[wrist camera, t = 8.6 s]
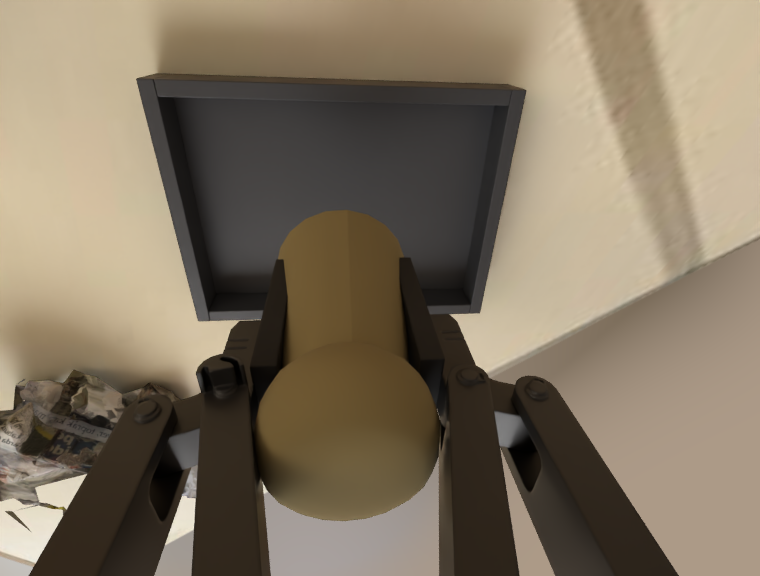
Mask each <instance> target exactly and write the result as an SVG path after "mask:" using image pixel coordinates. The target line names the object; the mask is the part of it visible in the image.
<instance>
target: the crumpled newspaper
mask: <svg viewBox="0 0 760 576" xmlns="http://www.w3.org/2000/svg"><path fill="white" fill-rule="evenodd" d="M24 380H25V379H23V380H22V381H24ZM22 381H21V382H22ZM19 383H20V382H19ZM19 383H18V384H19ZM154 394H160V395H165V396H167V397H169V398H170V399H171V401H172V403H173V402H176V401H180V399H178V398H177V397H176V396H175V395H173V392H171V391H169V390H167V389H164V388H162V387H159V386H156V385H154V384H151V383H148V384H147V385H146V386H145V387H143V388H140V389H137V390H134V391H131V392H128V393H125V394H121V393H119V392H118V391H117V390H115V389H114V388H112V387H111V386H109V385H108V384H106V383H105V382H104V381H102V380H101V379H99V378H98V377H95V376H90V375H86V374H83V373H81V372H78V371H76V370H73V371H72V373H71V374H70V376H69V377H68V378H67V380H66V381H65V382H64V383H59V382H54V381H49V380H43V381H28V382H27V384H26V386H25V387H22V386H17V385H16V387H15V397H14V409H13V410H6V411H0V501H4V500H7V499H12V498H14V499H16V500H18V501H20V502H21V503H22V504H24V505H35V506H38V505H39V506H43V507H47V508H52V509H62V510H63V515H64V514H65V512H66V509H65V508H64V507H59V508H58V507H56V506H53V505H50V504H47V503H39V500H38V497H37V493H36V490H35V487H37V486H41V485H45V484H49V483H53V482H57V481H61V480H64V479H68V478H72V477H76V476H80V475H84V474H88V472H89V470H90V469H91V467H92V465H93V463H94V462H95V460H96V458H97V457H98V455H99V453H100V451H101V450H102V448H103V446H104V444H105V443H106V441H107V439H108V437H109V436H110V434H111V432H112V431H113V429H114V427H115V425H116V424H117V422H118V420H119V418H120V417H121V415H122V413H123V412H124V411H125V409H126V408H127V407H128V406H129V405H130V404H132V403H133V402H135V401H136V400H138V399H140V398H142V397H145V396H148V395H154ZM23 400H25V401H23ZM197 469H198V465H196V466H193V467H192V468H191V471H190V474H189V476H188V479H187V482H186V485H185V488H184V491H183V494H182V496H187V498H196V487H197ZM31 507H34V506H31ZM28 508H30V507H28ZM24 509H25V508H24ZM20 510H21V509H20ZM5 512H6V513H8V514H9V515H10V516H12V517H13V518H14V519H15V520H17V521H18V522H19V523H21V524H22V525H23V526H24V527H26V528H27V526H26V525H25V524H24V523H23V522H22V521H21V520H20V519H19V518H18V517H17V516H16V515H15V514H14V513H13V512H12V511H5ZM27 529H28V528H27ZM28 530H29V529H28Z"/></svg>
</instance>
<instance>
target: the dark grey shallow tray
mask: <svg viewBox="0 0 760 576" xmlns="http://www.w3.org/2000/svg"><path fill="white" fill-rule="evenodd" d="M136 80H137V84H138V88H139V92H140V96H141V100H142V104H143V108H144V111H145V115H146V119H147V123H148V127H149V131H150V135H151V139H152V143H153V147H154V151H155V154H156V158H157V162H158V166H159V170H160V174H161V178H162V182H163V186H164V190H165V193H166V197H167V201H168V205H169V209H170V213H171V217H172V221H173V225H174V229H175V232H176V236H177V240H178V244H179V248H180V252H181V256H182V260H183V264H184V268H185V272H186V275H187V279H188V283H189V287H190V291H191V295H192V299H193V303H194V307H195V311H196V314H197V318H198V321H210V320H211V321H220V320H255V319H261V318H262V314H263V310H264V306H265V302H266V298H267V294H268V290H269V286H270V282H271V278H272V274H273V270H274V266H275V261H276V259H278V256H279V251H280V247H281V246H282V244H283V242H284V241H285V239H286V237H287V236H288V234H289V232H290V231H291V230H293V229H294V228H295V227H296V226H297V225H299V224H300V223H301V222H302V221H304V220H305V219H307V218H309V217H312V216H314V215H317V214H320V213H322V212H325V211H337V210H350V211H354V212H358V213H363V214H367V215H369V216H371V217H373V218H374V219H376V220H378V221H379V222H381V223H383V224H384V225H386V226H387V228H388V229H389V230H390V231H391V232H392V233H393V235H394V236H395V237H396V238H397V239H398V242H399V244H400V247H401V250H402V252H403V255H404V257H410V258H411V261H412V264H413V266H414V269H415V272H416V275H417V278H418V281H419V284H420V287H421V290H422V293H423V296H424V298H425V301H426V304H427V307H428V310H429V313H430V314H468V313H470V314H471V313H480V310H481V305H482V301H483V296H484V291H485V286H486V281H487V277H488V272H489V267H490V262H491V257H492V253H493V248H494V243H495V238H496V233H497V229H498V224H499V219H500V214H501V209H502V205H503V200H504V195H505V190H506V185H507V181H508V176H509V171H510V166H511V161H512V157H513V152H514V147H515V142H516V138H517V133H518V128H519V123H520V118H521V114H522V109H523V104H524V99H525V94H526V90H524V89H521V88H518V87H515V86H511V85H508V84H481V83H449V82H416V81H384V80H352V79H320V78H287V77H255V76H223V75H191V74H158V73H157V74H153V75H149V76H145V77H140V78H137V79H136Z"/></svg>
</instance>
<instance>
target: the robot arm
mask: <svg viewBox="0 0 760 576" xmlns="http://www.w3.org/2000/svg"><path fill="white" fill-rule="evenodd" d="M399 281H400V287H401V294H402V301H403V308H404V315H405V322H406V329H407V336H408V355H409V364H410V365H411V366H412V367H413V368H414V369H415V370H416V371H417V372H418V373H419V374H420V375H421V377H422V378H423V380H424V381H425V383H426V384H427V386H428V388H429V391H430V393H431V395H432V398H433V400H434V402H435V405H436V408H437V409H438V413H439V416H440V445H439V576H519V569H518V562H517V556H516V549H515V544H514V537H513V530H512V524H511V517H510V511H509V504H508V497H507V491H506V484H505V477H504V471H503V465H502V458H501V451H500V448H501V450H502V452H503V454H504V457H505V459H506V462H507V464H508V466H509V469H510V471H511V473H512V476H513V478H514V480H515V483H516V485H517V487H518V490H519V492H520V494H521V497H522V499H523V501H524V503H525V506H526V508H527V511H528V513H529V515H530V518H531V520H532V522H533V525H534V526H535V529H536V532H537V534H538V536H539V538H540V541H541V543H542V546H543V548H544V550H545V553H546V555H547V557H548V560H549V562H550V564H551V567H552V569H553V571H554V574H555V576H679V575H678V574H677V572H676V571H675V569H674V568H673V566H672V565H671V563H670V562H669V560H668V559H667V557H666V556H665V554H664V552H663V551H662V549H661V548H660V546H659V545H658V543H657V542H656V540H655V539H654V537H653V536H652V534H651V533H650V531H649V530H648V528H647V526H646V525H645V523H644V522H643V520H642V519H641V517H640V516H639V514H638V513H637V511H636V510H635V508H634V507H633V505H632V504H631V502H630V501H629V499H628V497H627V496H626V494H625V493H624V492H623V490H622V488H621V487H620V485H619V484H618V482H617V481H616V479H615V478H614V476H613V475H612V473H611V472H610V470H609V468H608V467H607V465H606V464H605V462H604V461H603V459H602V458H601V456H600V455H599V453H598V452H597V450H596V449H595V447H594V446H593V444H592V443H591V441H590V439H589V438H588V436H587V435H586V433H585V432H584V430H583V429H582V427H581V426H580V424H579V423H578V421H577V419H576V418H575V417H574V415H573V413H572V412H571V410H570V409H569V407H568V406H567V404H566V403H565V401H564V400H563V398H562V397H561V395H560V393H559V392H558V391H557V389H556V388H555V387H554V386H553V385H552V384H551V383H550V382H548V381H546V380H545V379H543V378H540V377H536V376H525V377H521V378H520V379H518V380H517V381H516V384H515V385H513V384H508V383H503V382H498V381H495V380H492V379H490V378H489V377H488V375H487V373H486V372H485V371H484V370H483V369H481V368H479V367H477V366H476V365H475V362H474V360H473V358H472V355H471V353H470V351H469V348H468V346H467V344H466V341H465V340H464V337H463V334H462V332H461V330H460V327H459V325H458V323H457V321H456V320H455V319H454V318H453V317H451V316H450V315H449V314H430V313H429V310H428V307H427V304H426V301H425V298H424V296H423V293H422V290H421V287H420V284H419V281H418V278H417V275H416V272H415V269H414V266H413V264H412V261H411V258H410V257H401V258H399ZM287 299H288V295H287V286H286V277H285V268H284V259H276V261H275V266H274V270H273V274H272V278H271V282H270V286H269V290H268V294H267V298H266V302H265V306H264V310H263V314H262V318H261V320H254V321H239V322H238V323H237V324H236V325H235V326H234V327H233V328H232V329H231V331H230V334H229V337H228V341H227V343H226V346H225V350H224V352H223V354H219V355H216V356H213V357H210V358H209V359H207V360H205V361H204V362H203V363H202V364H201V365H200V366H199V367H198V369H197V372H196V376H197V379H198V383H199V386H200V390H201V393H199V394H198V395H195V396H193V397H190V398H187V399H183V400H180V401H176V402H173V403H172V401H171V399H170V398H169V397H167V396H165V395H160V394H154V395H148V396H145V397H142V398H140V399H138V400H136V401H135V402H133V403H132V404H130V405H129V406H128V407H127V408H126V409H125V411H124V412H123V413H122V415H121V417H120V418H119V420H118V422H117V424H116V425H115V427H114V429H113V431H112V432H111V434H110V436H109V437H108V439H107V441H106V443H105V444H104V446H103V448H102V450H101V451H100V453H99V455H98V457H97V458H96V460H95V462H94V463H93V465H92V467H91V469H90V470H89V472H88V474H87V476H86V477H85V479H84V481H83V483H82V484H81V486H80V488H79V489H78V491H77V493H76V495H75V496H74V498H73V500H72V502H71V503H70V505H69V507H68V509H67V510H66V512H65V514H64V515H63V517H62V519H61V521H60V522H59V524H58V526H57V528H56V529H55V531H54V533H53V535H52V536H51V538H50V540H49V541H48V543H47V545H46V547H45V548H44V550H43V552H42V554H41V555H40V557H39V559H38V561H37V562H36V564H35V566H34V567H33V569H32V571H31V573H30V575H29V576H154V575H155V572H156V569H157V566H158V563H159V560H160V557H161V554H162V551H163V549H164V546H165V543H166V540H167V537H168V534H169V531H170V528H171V525H172V523H173V520H174V517H175V514H176V511H177V508H178V505H179V502H180V500H181V497H182V494H183V491H184V488H185V485H186V482H187V479H188V476H189V474H190V471H191V468H192V467H193V466H196V465H198V469H197V487H196V505H195V523H194V541H193V559H192V576H271V574H270V563H269V551H268V540H267V528H266V518H265V506H264V494H263V483H262V480H261V478H260V474H259V470H258V466H257V460H256V453H255V443H254V434H253V432H254V427H255V422H256V417H257V412H258V408H259V403H260V401H261V399H262V397H263V396H264V394H265V392H266V390H267V388H268V387H269V385H270V384H271V383H272V381H273V380H274V378H275V377H276V376H277V374H278V373H279V371H280V370H281V369H282V358H283V341H284V330H285V320H286V309H287Z"/></svg>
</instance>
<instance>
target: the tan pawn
mask: <svg viewBox="0 0 760 576" xmlns="http://www.w3.org/2000/svg"><path fill="white" fill-rule="evenodd" d="M401 257H404V255H403V252H402V250H401V247H400V244H399V242H398V239H397V238H396V237H395V236H394V235H393V233H392V232H391V231H390V230H389V229H388V228H387V226H386V225H384V224H383V223H381V222H379V221H378V220H376V219H374V218H373V217H371V216H369V215H367V214H363V213H358V212H354V211H350V210H337V211H325V212H322V213H320V214H317V215H314V216H312V217H309V218H307V219H305V220H304V221H302V222H301V223H300V224H299V225H297V226H296V227H295V228H294V229H293V230H291V231H290V232H289V234H288V236H287V237H286V239H285V241H284V242H283V244H282V246H281V247H280V251H279V256H278V259H284V268H285V277H286V286H287V295H288V299H287V309H286V320H285V330H284V341H283V358H282V369H281V370H280V371H279V373H278V374H277V376H276V377H275V378H274V380H273V381H272V383H271V384H270V385H269V387H268V388H267V390H266V392H265V394H264V396H263V397H262V399H261V401H260V403H259V408H258V412H257V417H256V422H255V427H254V432H253V434H254V443H255V453H256V460H257V466H258V470H259V474H260V478H261V480H262V481H263V483H264V485H265V487H266V489H267V491H268V492H269V493H270V494H271V495H272V496H273V497H274V498H275V499H276V500H277V501H278V502H279V503H280V504H282V505H284V506H286V507H287V508H289V509H291V510H293V511H295V512H297V513H300V514H303V515H305V516H310V517H314V518H318V519H322V520H334V521H348V520H358V519H366V518H369V517H373V516H376V515H379V514H383V513H386V512H388V511H390V510H391V509H393V508H395V507H397V506H399V505H401V504H403V503H405V502H406V501H408V500H410V499H411V498H412V497H413V496H414V495H415V494H417V492H419V491H420V490H421V489H422V488H423V487H424V486H425V484H426V482H427V481H428V479H429V477H430V475H431V474H432V472H433V469H434V467H435V464H436V462H437V459H438V457H439V445H440V418H439V415H438V412H437V408H436V405H435V402H434V400H433V398H432V395H431V393H430V391H429V388H428V386H427V384H426V383H425V381H424V380H423V378H422V377H421V375H420V374H419V373H418V372H417V371H416V370H415V369H414V368H413V367H412V366H411V365H410V364H409V355H408V336H407V329H406V322H405V315H404V308H403V301H402V294H401V287H400V281H399V258H401Z"/></svg>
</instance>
